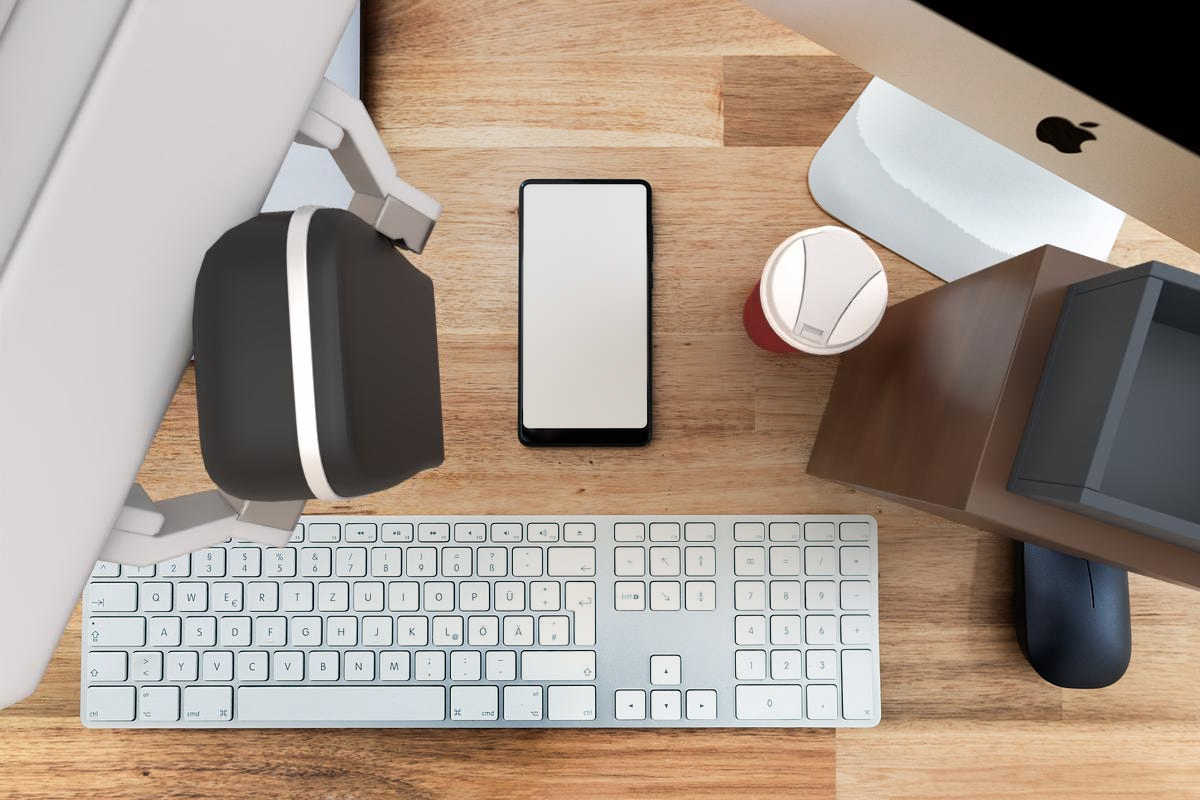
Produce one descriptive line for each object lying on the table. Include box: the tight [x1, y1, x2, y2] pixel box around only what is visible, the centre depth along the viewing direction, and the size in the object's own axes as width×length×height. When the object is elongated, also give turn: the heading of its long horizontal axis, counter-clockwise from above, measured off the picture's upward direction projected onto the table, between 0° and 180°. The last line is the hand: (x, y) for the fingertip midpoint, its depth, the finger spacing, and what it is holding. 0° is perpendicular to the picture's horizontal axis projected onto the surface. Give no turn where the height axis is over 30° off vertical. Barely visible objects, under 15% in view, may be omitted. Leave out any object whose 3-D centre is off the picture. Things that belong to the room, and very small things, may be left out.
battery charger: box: [192, 204, 446, 503], centre depth 24 cm, size 7×4×11 cm, turn 4°
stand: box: [805, 243, 1200, 593], centre depth 50 cm, size 12×14×28 cm
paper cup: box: [742, 224, 889, 355], centre depth 58 cm, size 8×8×14 cm
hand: (357, 369), depth 24 cm, fingers closed on battery charger, 7 cm apart
